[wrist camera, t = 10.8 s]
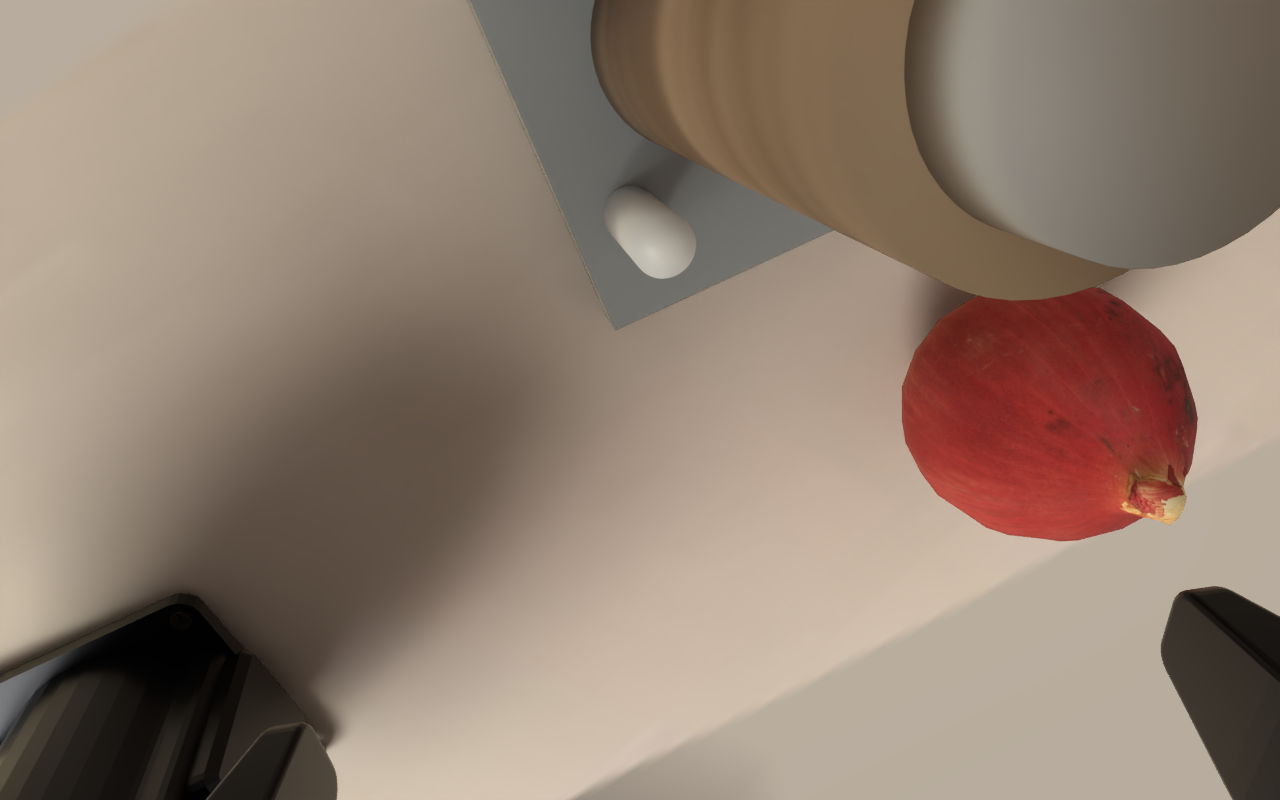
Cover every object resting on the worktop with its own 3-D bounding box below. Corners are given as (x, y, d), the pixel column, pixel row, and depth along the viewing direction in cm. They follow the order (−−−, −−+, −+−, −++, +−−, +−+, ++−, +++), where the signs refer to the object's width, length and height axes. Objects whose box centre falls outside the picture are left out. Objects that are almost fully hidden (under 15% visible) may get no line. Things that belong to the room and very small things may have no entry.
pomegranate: (1007, 200, 21) (1298, 292, 14) (1071, 371, 24) (1345, 522, 17) (812, 330, 21) (1001, 484, 14) (897, 485, 24) (1092, 681, 17)
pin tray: (607, 316, 20) (645, 381, 16) (400, -153, 15) (391, -204, 12) (908, 178, 20) (1010, 211, 17) (793, -323, 16) (899, -423, 12)
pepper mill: (644, 187, 18) (991, 436, 7) (551, -27, 16) (825, -166, 5) (828, 94, 18) (1466, 189, 7) (758, -130, 16) (1495, -500, 5)
